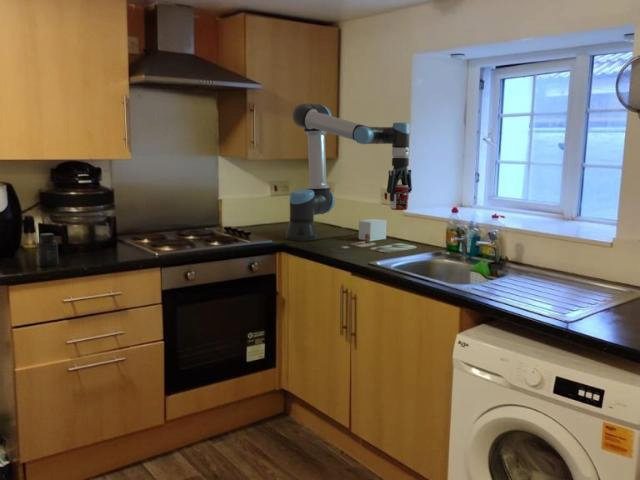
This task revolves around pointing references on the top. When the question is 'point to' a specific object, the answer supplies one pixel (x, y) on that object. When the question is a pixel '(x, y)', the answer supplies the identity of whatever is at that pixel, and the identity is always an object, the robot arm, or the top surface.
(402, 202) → the canned food
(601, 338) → the top surface
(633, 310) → the top surface
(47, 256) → the supplement bottle
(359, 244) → the plate
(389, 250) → the board
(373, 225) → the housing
